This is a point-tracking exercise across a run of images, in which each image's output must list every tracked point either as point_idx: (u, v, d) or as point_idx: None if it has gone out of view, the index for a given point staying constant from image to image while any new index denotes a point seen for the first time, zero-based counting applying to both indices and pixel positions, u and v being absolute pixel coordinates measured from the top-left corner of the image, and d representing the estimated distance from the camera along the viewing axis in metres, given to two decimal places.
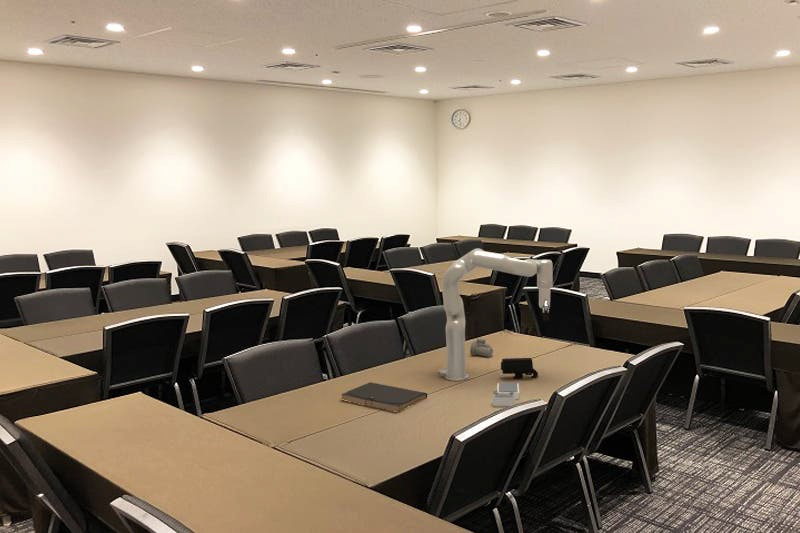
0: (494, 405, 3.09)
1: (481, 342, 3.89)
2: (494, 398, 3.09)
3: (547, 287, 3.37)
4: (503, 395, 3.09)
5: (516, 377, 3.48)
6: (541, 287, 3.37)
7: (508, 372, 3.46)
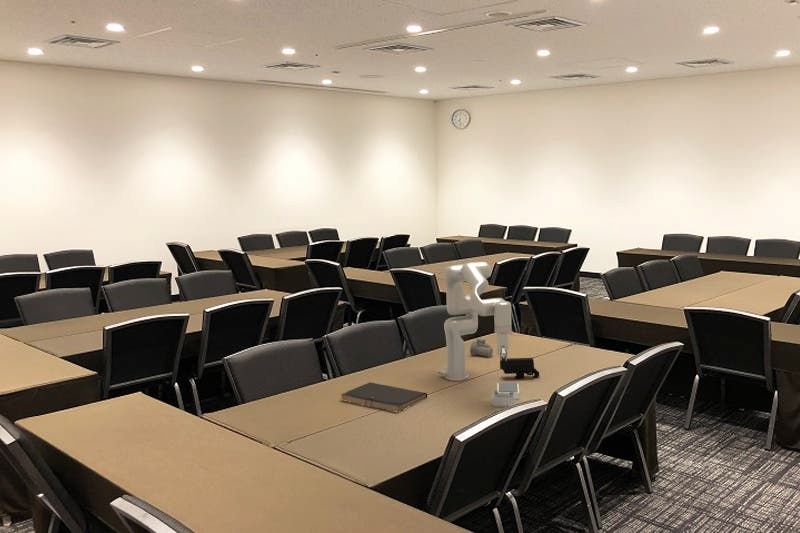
0: (494, 405, 3.09)
1: (481, 342, 3.89)
2: (494, 398, 3.09)
3: (505, 332, 3.02)
4: (503, 395, 3.09)
5: (517, 377, 3.48)
6: (498, 332, 3.03)
7: (509, 372, 3.46)
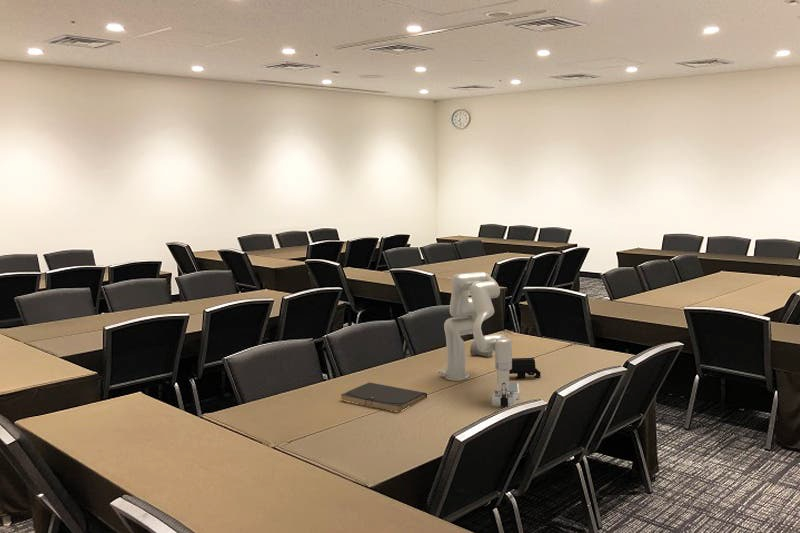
0: (493, 404, 3.10)
1: None
2: (493, 397, 3.09)
3: (505, 369, 3.05)
4: None
5: (519, 377, 3.48)
6: (499, 369, 3.06)
7: (511, 372, 3.46)
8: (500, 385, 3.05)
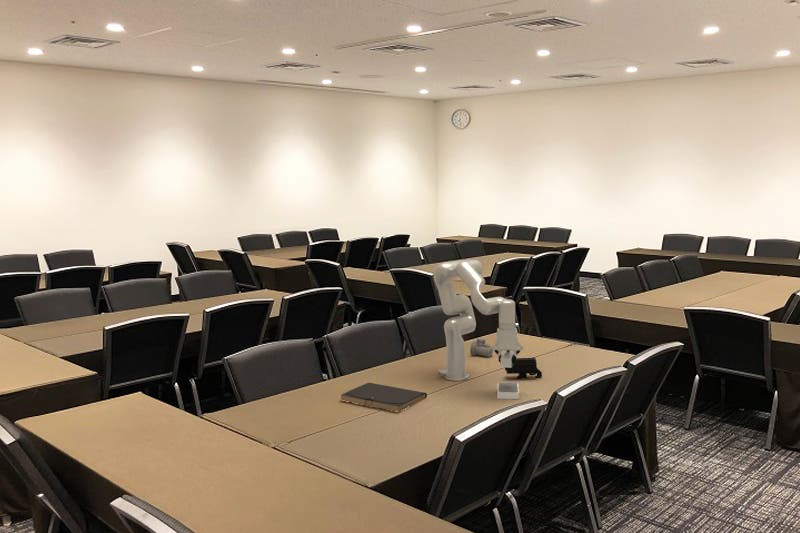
0: None
1: (481, 342, 3.89)
2: (503, 353, 3.27)
3: (499, 328, 3.20)
4: None
5: (520, 377, 3.48)
6: None
7: (512, 372, 3.46)
8: None
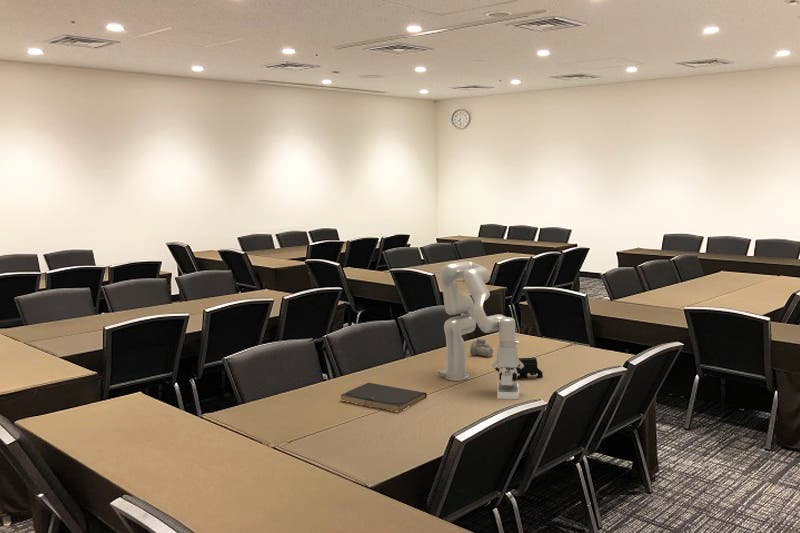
0: None
1: (481, 342, 3.89)
2: None
3: (499, 346, 3.21)
4: None
5: (521, 377, 3.48)
6: None
7: None
8: None
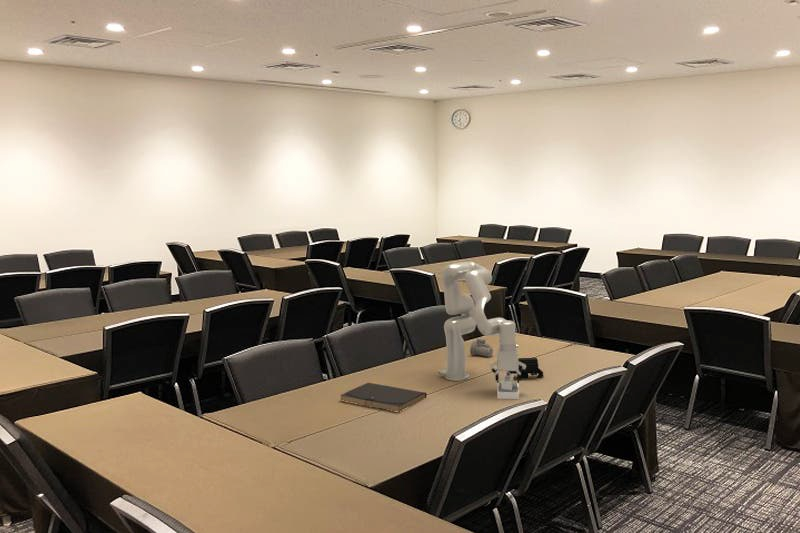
0: None
1: (481, 342, 3.89)
2: (503, 376, 3.29)
3: (499, 349, 3.22)
4: None
5: (521, 377, 3.48)
6: None
7: (513, 372, 3.46)
8: None
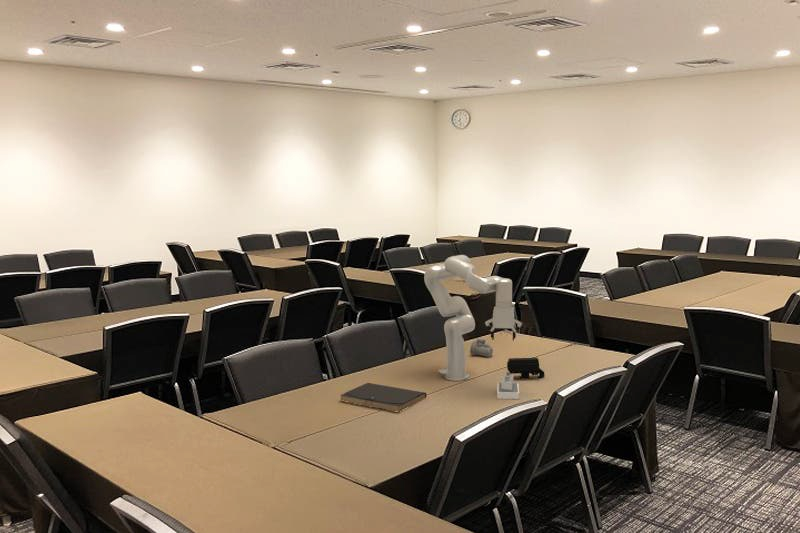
0: None
1: (481, 342, 3.89)
2: (503, 376, 3.29)
3: (496, 306, 3.25)
4: None
5: (522, 377, 3.48)
6: None
7: (514, 372, 3.46)
8: None
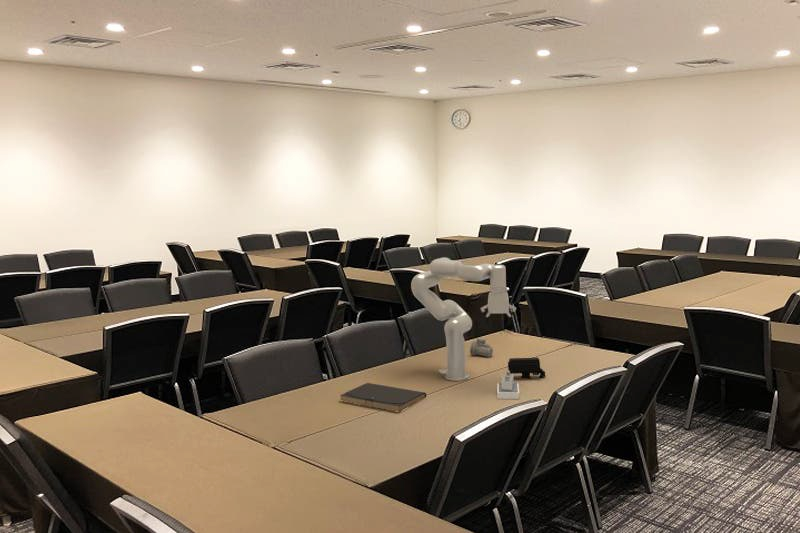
0: None
1: (481, 342, 3.89)
2: (503, 376, 3.29)
3: (490, 292, 3.34)
4: None
5: (523, 377, 3.48)
6: None
7: (515, 372, 3.46)
8: None
